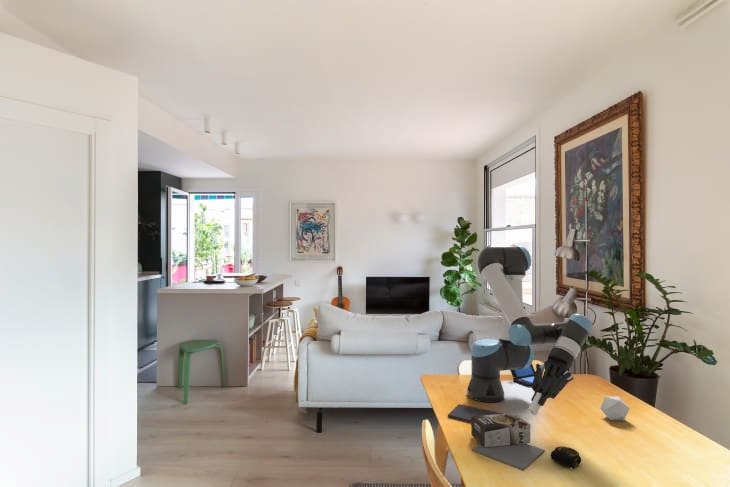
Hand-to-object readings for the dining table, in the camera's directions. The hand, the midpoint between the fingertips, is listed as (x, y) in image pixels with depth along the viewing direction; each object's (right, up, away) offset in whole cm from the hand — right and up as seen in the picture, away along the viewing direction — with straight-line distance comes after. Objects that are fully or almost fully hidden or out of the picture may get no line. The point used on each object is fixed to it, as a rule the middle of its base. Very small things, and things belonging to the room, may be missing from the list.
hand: (531, 412), depth 128 cm
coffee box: (-2, -6, +3) cm, 7 cm away
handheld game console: (+25, -12, +64) cm, 70 cm away
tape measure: (+5, -10, -13) cm, 17 cm away
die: (+39, -11, +20) cm, 45 cm away
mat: (-10, -10, -5) cm, 15 cm away
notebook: (-11, -11, +19) cm, 25 cm away
